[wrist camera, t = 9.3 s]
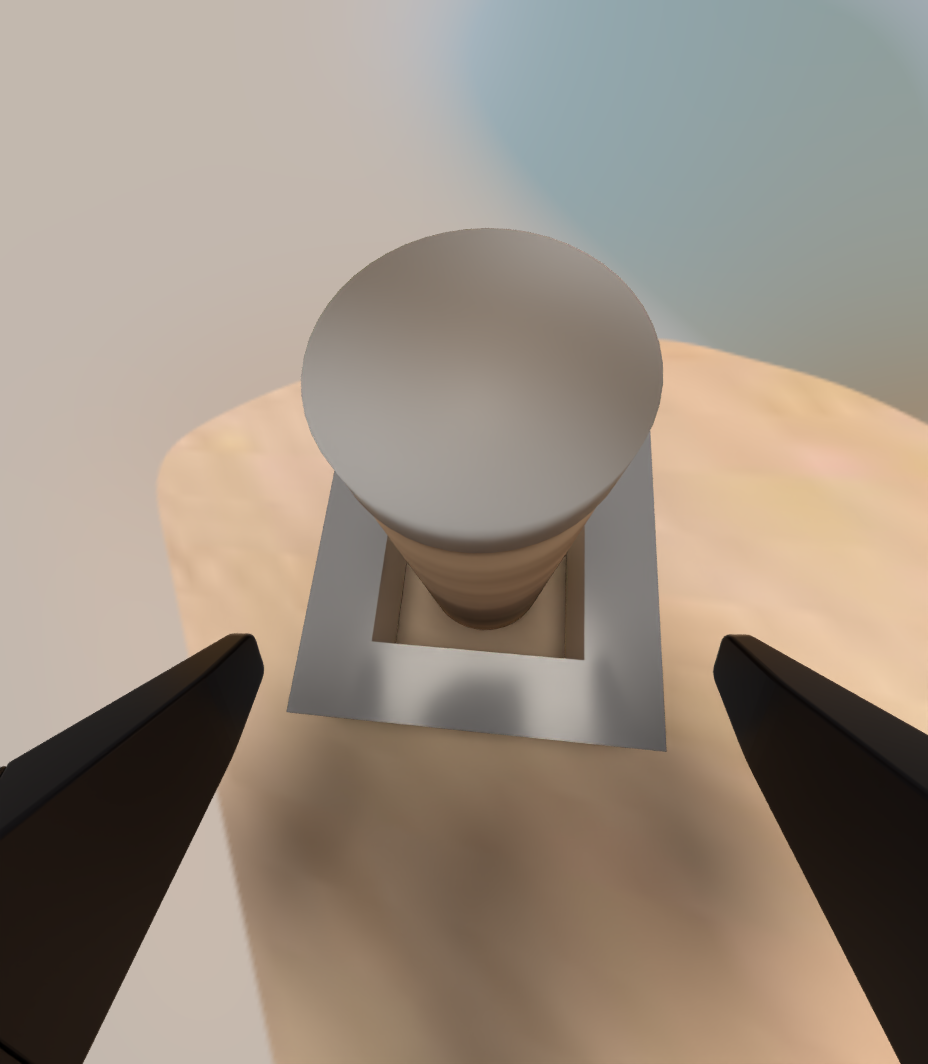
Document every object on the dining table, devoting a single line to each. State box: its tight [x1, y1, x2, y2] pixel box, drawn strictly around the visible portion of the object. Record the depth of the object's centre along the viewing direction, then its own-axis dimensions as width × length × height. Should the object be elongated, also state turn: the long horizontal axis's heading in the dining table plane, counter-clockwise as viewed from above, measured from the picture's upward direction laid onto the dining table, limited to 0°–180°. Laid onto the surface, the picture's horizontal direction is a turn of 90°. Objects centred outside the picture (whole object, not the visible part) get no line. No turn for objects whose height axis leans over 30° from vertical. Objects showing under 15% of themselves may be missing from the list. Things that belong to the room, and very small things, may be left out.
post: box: [301, 228, 663, 630], centre depth 11 cm, size 5×5×12 cm
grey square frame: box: [287, 431, 667, 752], centre depth 16 cm, size 11×11×4 cm
